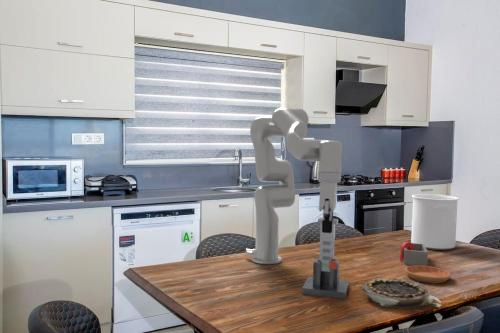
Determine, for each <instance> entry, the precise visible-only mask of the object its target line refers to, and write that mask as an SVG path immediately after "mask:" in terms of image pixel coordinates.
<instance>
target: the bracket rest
mask: <svg viewBox="0 0 500 333" xmlns="http://www.w3.org/2000/svg"><path fill="white" fill-rule="evenodd" d="M405 242H406V241H405ZM405 242H402V245H403V244H404V243H405ZM412 244H413V247H414V251H413V250H408V247H407V248H404V262H403V265H404V264H405V266H415V265H421V266H428V257H429V256H428V255H429V254H428V253H429V252H428V249H426V247H425V245H424V244H418V243H412Z"/></svg>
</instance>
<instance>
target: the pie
mask: <svg viewBox="0 0 500 333" xmlns="http://www.w3.org/2000/svg"><path fill="white" fill-rule="evenodd" d="M358 288H359V289H360V288H361V290H362V291H363V292H364V293H365V294H366V295H368V296H369V298H370V299H369V300H370V301H371V302H374V303H377V302H378V303H379V304H378V303H377V304H378V305H379V306H380V305H381V306H380V307H384V306H385V308H392V307H393V308H395V309H397V308H398V309H411V308H412V309H413V308H414V309H415V308H420V307H423V306H424V305H431V304H433V305H435V307H437V308H441V306H442V304H441V303H442V302H441V300H440V299H439V298H438V297H436V296H434V295H431V291H430V290H429V289H428V288H427V287H425V285H424V284H422V283H420V282H416V281H415V280H407V279H402V278H395V277H393V278H389V277H386V278H385V277H380V278H379V277H377V278H371V279H370V280H367V281H366V282H363V283H362V284H361V286H359V287H358ZM434 300H435V301H437V302H438V303H437V302H433V301H434ZM393 308H392V309H393ZM433 309H434V308H433ZM435 311H436V309H434V310H433V312H435Z"/></svg>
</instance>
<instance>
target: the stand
mask: <svg viewBox="0 0 500 333" xmlns="http://www.w3.org/2000/svg"><path fill="white" fill-rule="evenodd" d="M312 263H313V268H312V269H313V270H312V271H313V272H312V276H308V275H307V276H308V277H307V278H306V280H305V282H304V284H303V286H302V289H301V294H302V295H310V296H318V297H325V298H326V297H327V298H337V299H346V296H347V292H348V288H349V280H348V279H341V278H340V258H334V261H329V269H330V272H328V271H321V262H319V256H317V257H315V259H314V261H313V262H312ZM339 278H340V279H339Z"/></svg>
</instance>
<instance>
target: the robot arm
mask: <svg viewBox="0 0 500 333" xmlns="http://www.w3.org/2000/svg"><path fill="white" fill-rule="evenodd" d="M309 121H310V120H309V115H308V113H307V112H306V111H305V110H304V109H302V108H297V107H279V108H277V109H275V110H274V112H272V115H271V116H258V117H256V118H254V119H253V120H252V122H251V124H250V130H249V131H250V132H249V133H250V138H251V142H252V147H253V150H254V161H255V162H254V163H255V173H256V178H257V180H258V181H259V182H262V183H278V184H268V185H267V184H266V185H261V186H258V187H257V188H256V189H255V191H254V194H253V198H254V205H255V248H253V249H251V248H246V249H245V254H246V255H252V256H251V262H253V263H256V264H259V265H260V264H261V265H262V264H263V265H275V264H279V263H281V262H282V261H283V260H282V257H281V256H279V233H280V232H279V230H280V228H279V226H280V220H279V216H278V214H277V212H276V211H275V209H278V208H289V207H292V206H293V205H294V203H295V202H296V200H295V199H296V191H295V190H296V189H295V177H294V176H295V174H294V169H293V165H292V163H291V162H290V161H289V160H287V159H277V158H276V149H275V147H274V145H273V143H272V142H271V140H270V139H269V138H284V140H285V141H284V142H285V147H286V149H287V151H288V153H289V154H290V155H291V156H292V157H293V158H294V159H296V160H298V161H300V162H318V171H317V172H318V175H317V176H318V177H317V182H319V183H320V187H319V199H318V200H319V201H318V211H319V212H322V218H323V220H322V232H323V233H331V232H332V221H331V218H332V219H335V218H334V211H335V209H336V206H337V199H338V198H337V195H338V183H339V184H340V183H342V182H341V181H342V161H343V160H342V156H343V152H342V151H343V144H342V142H341V141H339V140H327V139H307V138H306V139H304V138H305V137H306V136H307V134H308V125H309Z"/></svg>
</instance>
